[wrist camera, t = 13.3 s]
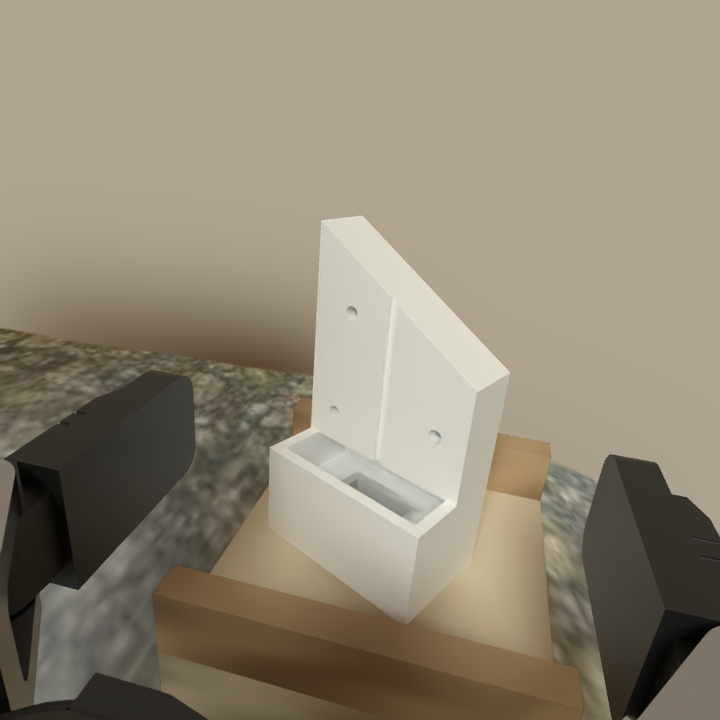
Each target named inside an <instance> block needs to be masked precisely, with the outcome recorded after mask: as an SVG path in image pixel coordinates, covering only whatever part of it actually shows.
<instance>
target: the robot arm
mask: <svg viewBox="0 0 720 720" xmlns="http://www.w3.org/2000/svg"><path fill="white" fill-rule="evenodd" d="M194 452H195V424H194V402H193V386H192V382H191V380H190V379H189V378H188V377H187V376H183V375H177V374H172V373H166V372H161V371H155V370H150V371H148V372H146V373H145V374H143V375H142V376H140V377H139V378H137V379H136V380H134V381H133V382H131V383H130V384H129V385H127V386H126V387H124V388H123V389H119V390H117V391H114V392H111V393H108V394H105V395H103V396H100V397H97V398H95V399H94V400H92V401H91V402H89V403H88V404H86V405H85V406H83V407H82V408H80V409H79V410H77V413H76V414H74V413H73V414H71V415H70V416H68V417H66V418H65V419H63V420H62V421H61V423H60V425H58V424H56V425H54V426H53V427H51V428H50V429H48V430H47V431H45V432H44V433H42V434H41V435H39V436H38V437H36V438H35V439H33V440H32V441H30V442H29V443H27V444H26V445H24V446H23V447H21V448H20V449H18V450H17V451H15V452H14V453H12V454H11V455H9V456H8V457H6V458H5V459H0V720H208V719H207V718H205V717H204V716H202V715H201V714H199V713H198V712H196V711H195V710H193V709H192V708H190V707H189V706H187V705H186V704H184V703H183V702H181V701H180V700H178V699H177V698H175V697H174V696H172V695H171V694H167V693H164V692H161V691H157V690H154V689H150V688H147V687H144V686H140V685H137V684H134V683H130V682H127V681H123V680H120V679H117V678H113V677H110V676H106V675H103V674H100V673H95V674H94V676H93V677H92V678H91V680H90V681H89V682H88V684H87V685H86V686H85V688H84V689H83V690H82V692H81V693H80V694H79V696H78V697H77V698H76V700H62V701H52V702H45V703H41V704H36V705H34V693H35V681H36V669H37V657H38V645H39V632H40V620H41V599H40V594H39V593H40V592H41V591H42V590H43V589H44V588H45V587H46V586H47V585H48V584H49V583H54V584H57V585H61V586H65V587H69V588H72V589H76V590H79V589H80V588H81V586H82V585H83V584H84V583H85V582H86V581H87V580H88V579H89V578H90V577H91V576H92V575H93V573H94V572H95V571H96V570H97V569H98V568H99V567H100V566H101V565H102V564H103V563H104V561H105V560H106V559H107V558H108V557H109V556H110V555H111V554H112V553H113V552H114V551H115V550H116V548H117V547H118V546H119V545H120V544H121V543H122V542H123V541H124V540H125V539H126V538H127V536H128V535H129V534H130V533H131V532H132V531H133V530H134V529H135V528H136V527H137V526H138V525H139V523H140V522H141V521H142V520H143V519H144V518H145V517H146V516H147V515H148V514H149V513H150V511H151V510H152V509H153V508H154V507H155V506H156V505H157V504H158V503H159V502H160V501H161V500H162V498H163V497H164V496H165V495H166V494H167V493H168V492H169V491H170V490H171V489H172V488H173V486H174V485H175V484H176V483H177V482H178V481H179V480H180V479H181V478H182V477H183V476H184V474H185V473H186V472H187V470H188V469H189V467H190V465H191V462H192V460H193V456H194ZM582 556H583V564H584V569H585V575H586V580H587V586H588V591H589V597H590V602H591V608H592V613H593V619H594V624H595V630H596V635H597V641H598V646H599V651H600V657H601V662H602V668H603V673H604V679H605V684H606V690H607V695H608V701H609V706H610V712H611V717H612V720H720V537H719V535H718V533H717V531H716V529H715V527H714V526H713V524H712V522H711V520H710V519H709V518H708V517H707V516H706V515H705V514H704V513H703V512H702V511H701V510H700V509H698V507H696V506H695V505H694V504H693V503H692V502H691V501H690V500H689V499H688V498H687V497H682V496H678V495H672V494H671V492H670V490H669V488H668V485H667V483H666V481H665V479H664V477H663V475H662V472H661V470H660V468H659V466H658V464H657V463H655V462H650V461H644V460H639V459H634V458H628V457H622V456H617V455H611V454H610V455H609V456H608V457H607V458H606V460H605V462H604V465H603V468H602V471H601V474H600V478H599V481H598V484H597V488H596V491H595V494H594V498H593V501H592V505H591V508H590V511H589V515H588V518H587V521H586V525H585V530H584V535H583V545H582Z"/></svg>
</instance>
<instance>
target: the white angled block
mask: <svg viewBox="0 0 720 720" xmlns="http://www.w3.org/2000/svg"><path fill="white" fill-rule="evenodd" d="M509 375H510V372H509V371H508V370H507V369H506V368H505V367H504V366H503V365H502V364H501V363H500V362H499V361H498V359H497V358H496V357H495V356H494V355H493V354H492V353H491V352H490V351H489V350H488V349H487V348H486V347H485V346H484V345H483V343H481V341H480V340H478V338H477V337H476V336H475V335H474V334H473V333H472V332H471V331H470V330H469V329H468V328H467V327H466V325H464V323H462V321H461V320H460V319H459V318H458V317H457V316H456V315H455V314H454V313H453V312H452V311H451V310H450V308H449V307H448V306H447V305H446V304H445V303H444V302H443V301H442V300H441V299H440V298H439V297H438V296H437V295H436V294H435V292H434V291H433V290H432V289H431V288H430V287H429V286H428V285H427V284H426V283H425V282H424V281H423V280H422V279H421V278H420V276H419V275H418V274H416V272H415V271H414V270H413V269H412V268H411V267H410V266H409V265H408V264H407V263H406V262H405V261H404V259H403V258H402V257H401V256H400V255H399V254H398V253H397V252H396V251H395V250H394V249H393V248H392V247H391V246H390V245H389V243H388V242H387V241H386V240H385V239H384V238H383V237H382V236H381V235H380V234H379V233H378V232H377V231H376V230H375V229H374V228H373V226H372V225H371V224H370V223H369V222H368V221H367V220H366V219H365V218H364V217H363V216H356V217H347V218H338V219H330V220H322V221H321V240H320V259H319V279H318V298H317V318H316V338H315V357H314V377H313V397H312V416H311V428H309V429H307V430H305V431H303V432H301V433H298V434H296V435H294V436H292V437H290V438H288V439H286V440H284V441H282V442H280V443H278V444H276V445H274V446H272V447H270V454H269V512H268V527H269V528H270V529H272V530H273V531H274V532H276V533H277V534H278V535H280V536H281V537H282V538H284V539H285V540H287V541H288V542H289V543H291V544H292V545H293V546H295V547H296V548H297V549H299V550H300V551H302V552H303V553H304V554H306V555H307V556H308V557H310V558H311V559H312V560H314V561H315V562H316V563H318V564H319V565H321V566H322V567H323V568H325V569H326V570H327V571H329V572H330V573H331V574H333V575H334V576H336V577H337V578H338V579H340V580H341V581H342V582H344V583H345V584H346V585H348V586H349V587H350V588H352V589H353V590H355V591H356V592H357V593H359V594H360V595H361V596H363V597H364V598H365V599H367V600H368V601H370V602H371V603H372V604H374V605H375V606H376V607H378V608H379V609H380V610H382V611H383V612H384V613H386V614H387V615H389V616H390V617H391V618H393V619H394V620H395V621H397V622H400V623H404V624H409V623H410V622H411V621H412V620H413V619H414V618H415V617H416V616H417V615H418V614H419V613H420V612H421V611H422V610H423V609H424V608H425V607H426V606H427V605H428V604H429V603H430V602H431V601H432V600H433V599H434V598H435V597H436V596H437V595H438V594H439V593H440V592H441V591H442V590H443V589H444V588H445V587H446V586H447V585H448V584H449V583H450V582H451V581H452V580H453V579H454V578H455V577H456V576H457V575H458V573H459V572H460V571H461V570H462V569H463V568H464V567H465V566H466V565H467V564H468V563H469V562H470V561H471V560H472V555H473V551H474V546H475V541H476V536H477V531H478V526H479V521H480V517H481V512H482V507H483V502H484V497H485V492H486V487H487V483H488V478H489V473H490V468H491V463H492V458H493V453H494V449H495V444H496V439H497V434H498V429H499V424H500V418H501V415H502V409H503V405H504V400H505V395H506V390H507V385H508V381H509Z"/></svg>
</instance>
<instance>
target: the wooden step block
mask: <svg viewBox="0 0 720 720" xmlns="http://www.w3.org/2000/svg"><path fill="white" fill-rule="evenodd" d="M311 416H312V398H307V397H301V399H300V400H299V401H298V403H297V404H296V405H295V406H294V416H293V436H294V435H296V434H298V433H301V432H303V431H305V430H307V429H309V428H311ZM550 460H551V451H550V443H547V442H542V441H536V440H531V439H526V438H520V437H515V436H510V435H504V434H499V433H498V434H497V439H496V444H495V449H494V453H493V458H492V463H491V468H490V473H489V478H488V483H487V487H486V492H485V497H484V502H483V507H482V512H481V517H480V521H479V526H478V531H477V536H476V541H475V546H474V551H473V555H472V560H471V561H470V562H469V563H468V564H467V565H466V566H465V567H464V568H463V569H462V570H461V571H460V572H459V573H458V575H457V576H456V577H455V578H454V579H453V580H452V581H451V582H450V583H449V584H448V585H447V586H446V587H445V588H444V589H443V590H442V591H441V592H440V593H439V594H438V595H437V596H436V597H435V598H434V599H433V600H432V601H431V602H430V603H429V604H428V605H427V606H426V607H425V608H424V609H423V610H422V611H421V612H420V613H419V614H418V615H417V616H416V617H415V618H414V619H413V620H412V621H411V622H410V623H409V624H404V623H400V622H397V621H395V620H394V619H393V618H391V617H390V616H389V615H387V614H386V613H384V612H383V611H382V610H380V609H379V608H378V607H376V606H375V605H374V604H372V603H371V602H370V601H368V600H367V599H365V598H364V597H363V596H361V595H360V594H359V593H357V592H356V591H355V590H353V589H352V588H350V587H349V586H348V585H346V584H345V583H344V582H342V581H341V580H340V579H338V578H337V577H336V576H334V575H333V574H331V573H330V572H329V571H327V570H326V569H325V568H323V567H322V566H321V565H319V564H318V563H316V562H315V561H314V560H312V559H311V558H310V557H308V556H307V555H306V554H304V553H303V552H302V551H300V550H299V549H297V548H296V547H295V546H293V545H292V544H291V543H289V542H288V541H287V540H285V539H284V538H282V537H281V536H280V535H278V534H277V533H276V532H274V531H273V530H272V529H270V528H269V527H268V512H269V485H268V487H267V488H266V490H265V491H264V493H263V494H262V496H261V497H260V499H259V500H258V502H257V503H256V505H255V506H254V508H253V509H252V511H251V512H250V514H249V515H248V517H247V518H246V520H245V521H244V523H243V524H242V526H241V527H240V529H239V530H238V532H237V533H236V535H235V536H234V538H233V539H232V541H231V542H230V544H229V545H228V547H227V548H226V550H225V551H224V553H223V554H222V556H221V557H220V559H219V560H218V562H217V563H216V565H215V566H214V568H213V569H212V571H211V572H210V573H206V572H202V571H198V570H195V569H191V568H187V567H183V566H179V565H175V564H174V565H173V567H172V568H171V569H170V571H169V572H168V573H167V574H166V576H165V577H164V578H163V580H162V581H161V582H160V584H159V585H158V586H157V588H156V589H155V590H154V592H153V593H152V596H153V607H154V618H155V629H156V639H157V650H158V661H159V672H160V683H161V692H164V693H167V694H171V695H172V696H174V697H175V698H177V699H178V700H180V701H181V702H183V703H184V704H186V705H187V706H189V707H190V708H192V709H193V710H195V711H196V712H198V713H199V714H201V715H202V716H204V717H205V718H207V719H208V720H580V719H581V716H582V713H583V711H584V707H583V700H582V692H581V684H580V676H579V668H575V667H571V666H567V665H564V664H560V663H556V662H553V651H552V639H551V627H550V615H549V603H548V591H547V579H546V567H545V555H544V543H543V531H542V519H541V507H540V499H541V495H542V491H543V487H544V483H545V479H546V475H547V472H548V468H549V464H550Z"/></svg>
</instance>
